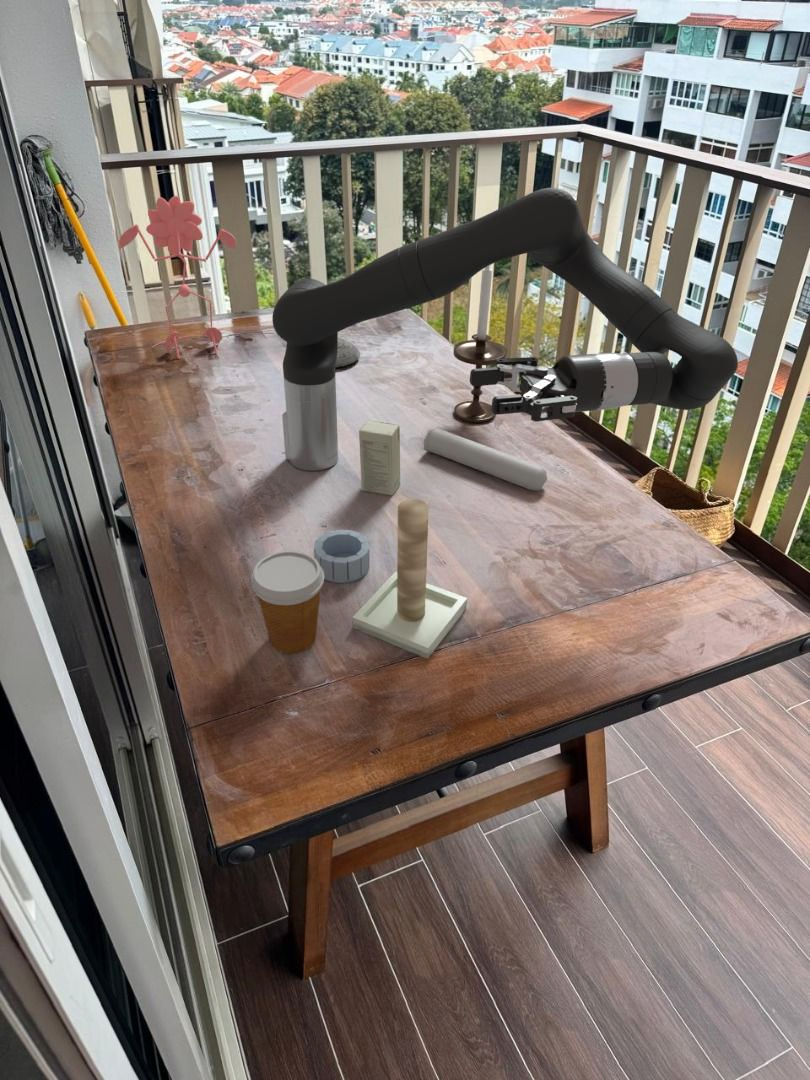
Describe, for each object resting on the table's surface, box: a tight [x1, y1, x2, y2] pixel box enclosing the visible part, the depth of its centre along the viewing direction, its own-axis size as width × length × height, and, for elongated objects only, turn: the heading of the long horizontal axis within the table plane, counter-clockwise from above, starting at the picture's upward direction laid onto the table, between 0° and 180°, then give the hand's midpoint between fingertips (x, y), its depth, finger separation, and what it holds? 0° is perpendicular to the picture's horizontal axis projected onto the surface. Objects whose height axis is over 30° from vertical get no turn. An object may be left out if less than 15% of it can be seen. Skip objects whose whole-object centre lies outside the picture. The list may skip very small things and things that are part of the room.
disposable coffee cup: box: [250, 550, 325, 655], centre depth 101 cm, size 10×10×12 cm
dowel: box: [396, 498, 430, 622], centre depth 103 cm, size 4×4×18 cm
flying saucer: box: [335, 337, 361, 368], centre depth 183 cm, size 15×15×6 cm
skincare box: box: [358, 419, 401, 496], centre depth 133 cm, size 6×4×12 cm
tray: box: [352, 571, 468, 659], centre depth 108 cm, size 12×12×2 cm
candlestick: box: [452, 265, 508, 425], centre depth 151 cm, size 11×11×35 cm
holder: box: [313, 529, 371, 584], centre depth 117 cm, size 8×8×4 cm
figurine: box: [118, 195, 237, 360], centre depth 178 cm, size 15×26×35 cm, turn 113°
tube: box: [423, 425, 548, 492], centre depth 142 cm, size 5×5×25 cm
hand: (481, 391), depth 98 cm, fingers open, 8 cm apart
